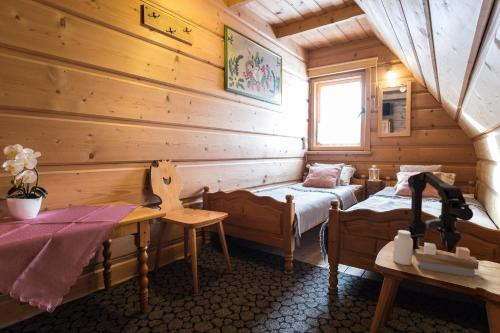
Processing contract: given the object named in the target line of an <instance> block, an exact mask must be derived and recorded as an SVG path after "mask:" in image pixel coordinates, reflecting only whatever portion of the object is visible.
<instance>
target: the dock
mask: <svg viewBox="0 0 500 333" xmlns="http://www.w3.org/2000/svg"><path fill="white" fill-rule="evenodd" d="M417 263H418V266H419V269H420V270H421V269H422V270H427V271H429V270H430V271H433V272H439V273H440V272H441V273H445V274H453V275H459V276H465V277H471V278H472V277H473V278H474V277H475V270H476V269H469V268H463V267H456V266H450V265H443V264H437V263H430V262H423V261H417Z"/></svg>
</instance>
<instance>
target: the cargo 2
mask: <svg viewBox="0 0 500 333" xmlns="http://www.w3.org/2000/svg"><path fill="white" fill-rule="evenodd" d="M455 248H456V249H455V255H456V256H457V258H458V259H465V260H469V258H470V257H471V251H470V250H469V248H468V247H461V246H455Z"/></svg>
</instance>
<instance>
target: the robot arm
mask: <svg viewBox="0 0 500 333" xmlns="http://www.w3.org/2000/svg"><path fill="white" fill-rule="evenodd" d="M407 184H408V185H407V186H408V188H409V190H410V191H411V201H410V202H411V205H410V210H411V211H410V219H409V220H408V221H407V223H406V224H407V225H406V227H405V229H404V230H405V231H409V232H410V233H411V236H410V238H412V240H413V250H415V249H419V250H421V248H420V238H421V239H424V238H425V235H426V232H427V229H428V230H430V231H431V230H433V229H436V230H437V231H438V232H439V234H440V240H441V244H442V246H446V253H451V252H452V251H453V250H454V247H456V245H457V244H458V243H459V242H460V241H462V234H461V233H460V232H459V231H458V228H457V222H458V220H461V221H463V222H468V221H470V220H472V218H473V217H474V212H473V211H474V210H472V208H470V206H469V204H467V202H466V199H465V197H464V194H463V193H462V191H461V188H460V187H459V186H456V185H453V184H450V183H447V182H445V181H444V180H442V179H441V178H440V177H438V176H436V175H435V174H434V173H433V172H432V171H422V172H418V173H416V174H413V175H410V176H409V177H408V178H407ZM427 184H428V185H430V186H431V187H432V188H433V189H434V190H436V191H437V195H438V196H439V197H440V198H441V199H440V200H438V203H440V204H441V211H440V214H439V215H438V218H431V219H427V220H425V221H423V220H422V217H423V216H422V215H423V193H424V191H425V189H427ZM426 227H427V228H426Z"/></svg>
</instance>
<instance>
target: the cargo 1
mask: <svg viewBox="0 0 500 333" xmlns="http://www.w3.org/2000/svg"><path fill="white" fill-rule="evenodd" d="M423 245H424V246H423V250H424V252H425V254H431V255H436V252H437V246H436V244H435V243H431V242H424V244H423Z"/></svg>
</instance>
